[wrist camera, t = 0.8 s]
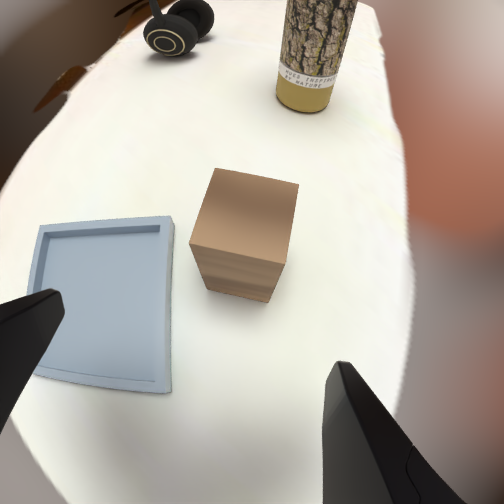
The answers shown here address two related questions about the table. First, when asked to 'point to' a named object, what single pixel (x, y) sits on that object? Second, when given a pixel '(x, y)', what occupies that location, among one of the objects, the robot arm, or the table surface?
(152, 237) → the tray
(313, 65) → the paper tube
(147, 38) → the headphones
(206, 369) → the table surface
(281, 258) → the walnut block
